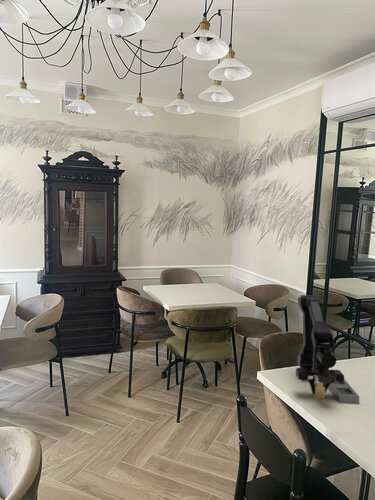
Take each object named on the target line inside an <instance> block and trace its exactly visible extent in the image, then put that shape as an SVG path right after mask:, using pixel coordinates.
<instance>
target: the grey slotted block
mask: <svg viewBox="0 0 375 500" xmlns="http://www.w3.org/2000/svg"><path fill="white" fill-rule="evenodd" d="M334 381H335V382H334V383H331V384H330V385H329V387H328V390H329V391H330V392H331V394H332V395H333V397H334V398H335V399H336V401H337V402H338V403H340V404H355V405H357V404H358V405H359V404H360V396H359V394H358V393H357V392H356V391H355V390H354V388H353V387H352V386H351V385H350V384H349V383H348V381H347V380H346V379H345V378H344V382H340V381H336V380H335V379H334Z"/></svg>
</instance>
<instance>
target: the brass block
mask: <svg viewBox="0 0 375 500" xmlns="http://www.w3.org/2000/svg"><path fill="white" fill-rule="evenodd" d="M311 394H312V396H313V398H314V399H315V400H316V399H318V400H319V399H320V400H325V398H326V396H325V395H326V393H325V386H324V385H323V383H320V382H314V394H313V393H312V392H311Z"/></svg>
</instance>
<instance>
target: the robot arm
mask: <svg viewBox="0 0 375 500" xmlns="http://www.w3.org/2000/svg"><path fill="white" fill-rule="evenodd" d="M297 304H298V307H299V309H300V311H301V313H302V326H303V329H302V331H303V333H302V336H303V341H302V343H303V344H302V346H301V347H300V350H299V353H298V355H297V358H296V363H297V365H298V366H299V367H296V369H295V372H294V373H295V376H296V377H297V379H298V380H301V381H306V382H308V383H309V386H310V389H311V394H312V393H313V394H314V383H316V379H315V378H317V381H318V383H322V384H323V385H324V386H325V394H326V392H327V391H328V390H329V388H328V387H329V385H330V384H331V383H334V382H335V381H334V379H335V380H336V381H340V382H344V379H345V374H344V373H342V372H341V370H340V369H332V368H333V367H335V365H336V364H337V359H336V357H335V355H334V354H333V353H332V352H333V351H332V350H333V349H335V345H336V343H335V338H334V337H333V333H332V332H331V329H330V327H329V326H328V325H327V323H325V321H324V318H323V314H322V311H321V307H320V298H319V297H315V295H313V294H311V295H310V294H300V296H299V297H298V298H297Z"/></svg>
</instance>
